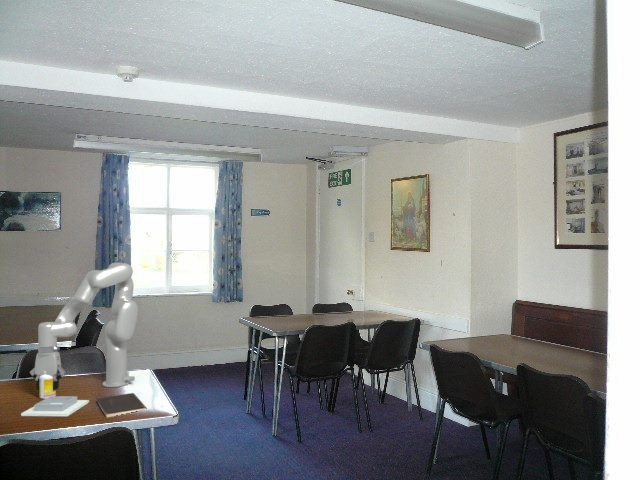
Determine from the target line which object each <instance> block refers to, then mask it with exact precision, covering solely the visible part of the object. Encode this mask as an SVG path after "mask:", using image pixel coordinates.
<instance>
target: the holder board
mask: <svg viewBox="0 0 640 480" xmlns="http://www.w3.org/2000/svg"><path fill="white" fill-rule="evenodd" d="M89 403H90V399H78V396H67V395H66V396H65V395H63V396H62V395H60V396H59V395H56V396H50V397H48V398H46V399H42V400H41V401H39V402H37V403H35V404H34V406H32V407H30V408H28V409H27V410H24V411H23V412H21V413H20V415H21V417H69V416H70V415H72V414H73V413H76V412H77V411H78V410H79V409H81V408H84V406H86V405H88V404H89Z"/></svg>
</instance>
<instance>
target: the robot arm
mask: <svg viewBox="0 0 640 480" xmlns="http://www.w3.org/2000/svg"><path fill="white" fill-rule="evenodd" d="M133 270H134V269H133V267H132V266H131V265H130V264H129V263H127V262H126V263H125V262H124V263H123V262H112V263H110V264H109V266H107V268H105V269H101V270H99V269H93V270H89V271H88V273H86V275H85V276H84V278H83V280H82V282H80V285H79V286H78V288H77V290H76V292H74V295H73V296H72V297H71V298H70V300H68V302H67V303H66V304H65V305H64V307H62V309H61V311H60V312H59V314H58V315H57V317H56V318H55V321H47V322H46V321H44V322H41V323H40V322H39V324H38V327H37V328H38V329H37V332H38V333H37V334H38V335H37V336H38V337H37V339H38V340H37V341H38V343H37V344H38V345H37V346H38V347H37V348H38V349H37V351H38V352H37V353H36V357H35V362H34V367H33V368H32V369H31V370H30V371H29V374H30V375H31V376H32V378H33V379H34V381H36V383H35V384H36V390H37V391H38V390H39V377H40V375H44V374H46V375H52V377H53V379H54V381H53V390H56V391H57V389H59V387H60V383H59V382H60V381H59V380H60V379H62V377H63V376H64V375H65V374H66V370H65V369H63V367H62V362H61V361H62V360H61V356H60V355H61V353H60V352H59V351H60V348H61V347H59V346H58V338H70V337H72V336H74V335H76V334H77V330H78V327H77V324H76V323H75V322H74V320H75V319H76V318H77V316H79V314H80V313H81V312H82V311H83V310H85V309H87V308H89V306H91V305H92V304H93V302H94V299H95V297H96V296H97V294H98V293H99V291H100V289H105V288H110V287H112V286H114V287H115V289H114V295H113V299H112V303H111V309H110V310H111V314H112V315H114V317H116V319H112V320H110V321H109V322H107V323H106V325H105V328H104V338H105V380H104V381H103V382H102V386H103V387H106V388H117V387H119V388H120V387H125V386H127V385H129V384H130V383H131V382H134V381H135V380H136V378H135V376H133V375H131V376H130V374H129V373H128V372H127V370H128V360H127V359H128V355H127V353H128V348H127V347H128V345H127V342H128V341H129V340H131V339H132V337H133V336H134V333H135V331H136V326H137V320H138V315H139V307H138V304H137V303H136V302H135V301H134V300H133V296H134V281H133V278H132V276H133V273H134V271H133ZM44 371H46V373H43V372H44Z"/></svg>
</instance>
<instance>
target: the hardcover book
mask: <svg viewBox="0 0 640 480" xmlns="http://www.w3.org/2000/svg"><path fill="white" fill-rule="evenodd" d="M96 401H97V404H98V405H99V408H100V409H101V411H102V412H103V414H104V416H105V418H112V417H117V416H116V415H118V416H122V415H121V414H124V415H127V414H126V413H130V414H132V413H131V412H135V411H140V410H145V409H147V407H146V405H145V404H144V403H143V402H142V401H141V400H140V398H139V397H138V396H137V395H136V394H135V393H134V392H131V393H124V394H117V395H112V396H105V397H98V398H96Z"/></svg>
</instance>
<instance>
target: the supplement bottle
mask: <svg viewBox="0 0 640 480" xmlns="http://www.w3.org/2000/svg"><path fill="white" fill-rule="evenodd" d="M43 373H46V371H44V372H43ZM53 381H54V379H53V377H52V375H46V374H44V375H40V377H39V392H38V393H39V398H40V399H42V400H44V399H46V398H48V397H50V396H57V389H56V390H53Z"/></svg>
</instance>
